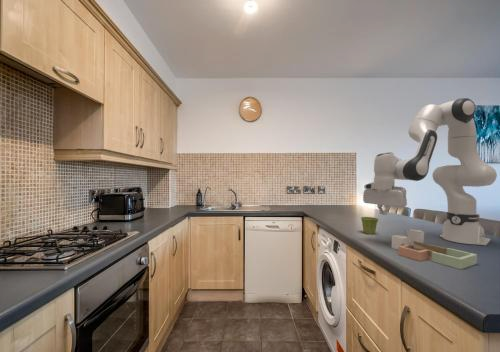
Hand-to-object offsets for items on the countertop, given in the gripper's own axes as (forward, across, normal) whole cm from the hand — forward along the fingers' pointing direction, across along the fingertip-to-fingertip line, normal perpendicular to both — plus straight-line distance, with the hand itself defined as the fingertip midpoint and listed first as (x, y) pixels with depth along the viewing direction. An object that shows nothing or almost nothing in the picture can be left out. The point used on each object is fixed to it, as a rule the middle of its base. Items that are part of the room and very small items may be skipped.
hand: (383, 214), depth 117 cm
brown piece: (+14, -18, 0) cm, 23 cm away
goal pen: (+14, -28, 0) cm, 31 cm away
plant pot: (+14, +18, -14) cm, 27 cm away
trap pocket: (+14, -18, +7) cm, 24 cm away
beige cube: (+14, -8, -12) cm, 21 cm away
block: (+14, -8, 0) cm, 16 cm away
